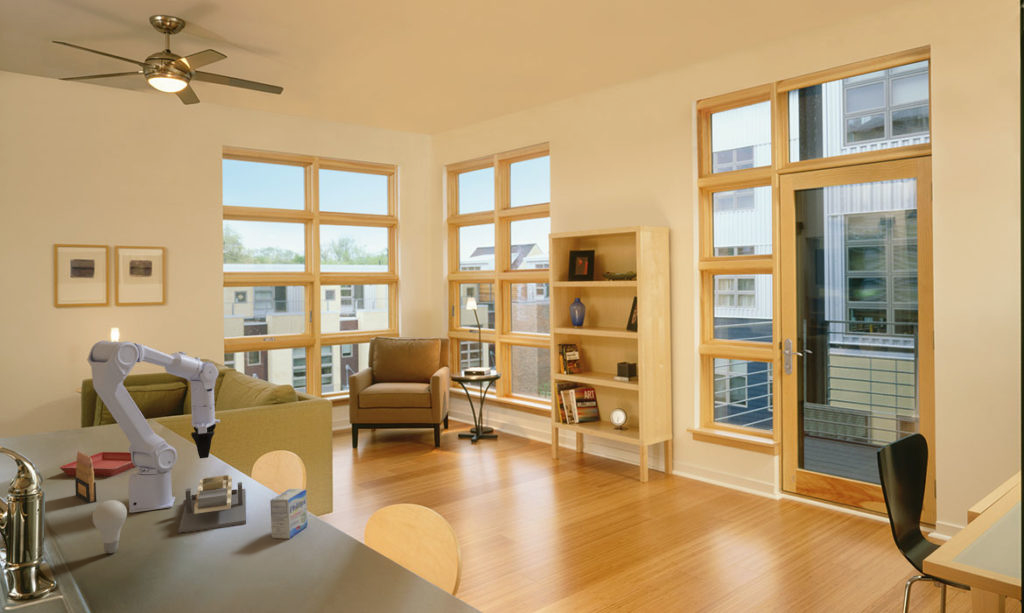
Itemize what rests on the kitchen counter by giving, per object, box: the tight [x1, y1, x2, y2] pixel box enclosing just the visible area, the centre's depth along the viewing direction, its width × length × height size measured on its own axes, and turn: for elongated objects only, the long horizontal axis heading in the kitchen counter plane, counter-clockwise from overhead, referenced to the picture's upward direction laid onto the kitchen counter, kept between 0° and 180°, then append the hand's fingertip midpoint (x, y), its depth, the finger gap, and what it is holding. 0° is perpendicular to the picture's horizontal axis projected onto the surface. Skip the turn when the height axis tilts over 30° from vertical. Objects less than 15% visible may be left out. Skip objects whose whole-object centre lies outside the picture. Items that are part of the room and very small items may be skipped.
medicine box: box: [269, 488, 308, 540], centre depth 145 cm, size 8×4×9 cm, turn 168°
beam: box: [191, 474, 238, 514], centre depth 160 cm, size 23×10×3 cm, turn 23°
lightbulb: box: [92, 499, 128, 555], centre depth 135 cm, size 6×6×11 cm
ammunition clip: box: [74, 450, 97, 504], centre depth 171 cm, size 11×2×12 cm, turn 49°
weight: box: [202, 475, 224, 491], centre depth 157 cm, size 4×4×4 cm
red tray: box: [59, 451, 137, 477], centre depth 200 cm, size 18×18×3 cm
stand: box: [178, 481, 247, 534], centre depth 160 cm, size 26×14×6 cm, turn 23°
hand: (204, 454), depth 178 cm, fingers open, 7 cm apart
